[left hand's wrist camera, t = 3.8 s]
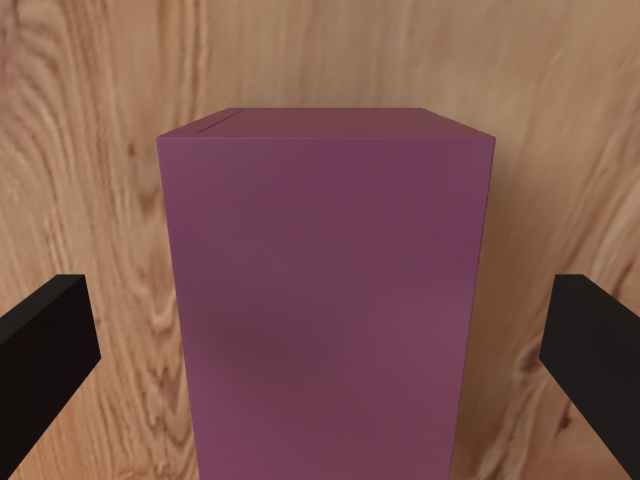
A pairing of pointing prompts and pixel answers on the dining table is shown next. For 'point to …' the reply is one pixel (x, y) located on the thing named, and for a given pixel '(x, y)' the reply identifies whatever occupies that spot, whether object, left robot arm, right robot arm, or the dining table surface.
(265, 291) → the cabinet
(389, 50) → the dining table surface
